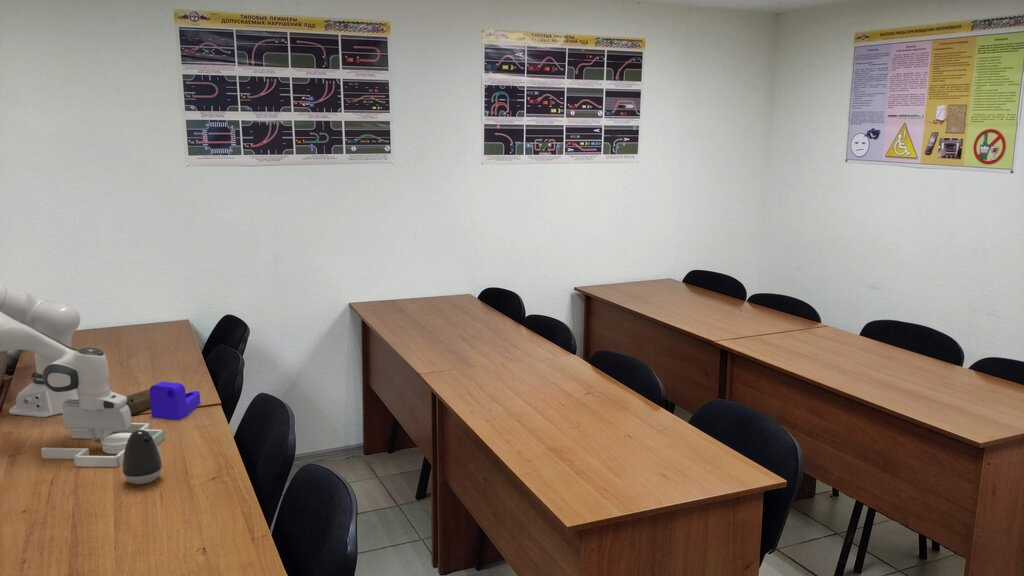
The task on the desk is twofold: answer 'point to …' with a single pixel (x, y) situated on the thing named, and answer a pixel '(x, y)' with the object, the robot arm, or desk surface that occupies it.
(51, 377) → the robot arm
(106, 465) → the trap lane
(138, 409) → the brown hollow cylinder
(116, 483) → the desk surface
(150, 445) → the dark grey egg shape
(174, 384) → the bracket
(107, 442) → the coaster
